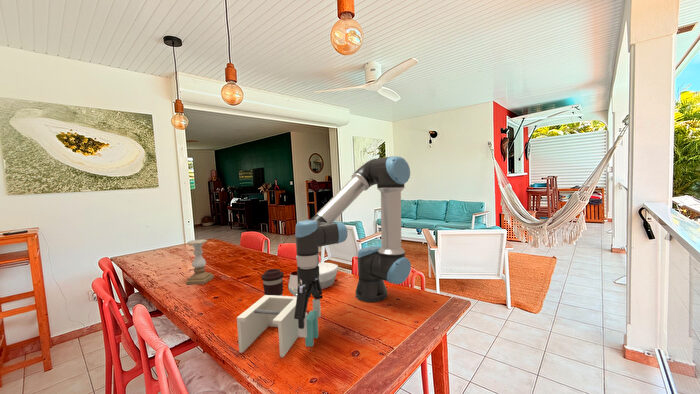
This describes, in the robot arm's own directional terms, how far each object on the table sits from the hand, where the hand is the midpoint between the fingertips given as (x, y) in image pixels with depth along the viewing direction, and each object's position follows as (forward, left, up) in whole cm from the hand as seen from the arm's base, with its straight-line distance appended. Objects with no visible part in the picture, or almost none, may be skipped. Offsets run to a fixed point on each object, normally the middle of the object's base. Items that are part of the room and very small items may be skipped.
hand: (310, 326), depth 96 cm
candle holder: (+88, -48, -6) cm, 100 cm away
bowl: (+14, -51, -6) cm, 53 cm away
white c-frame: (+14, +1, -6) cm, 15 cm away
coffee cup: (+29, -27, -6) cm, 40 cm away
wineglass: (+12, -17, -6) cm, 22 cm away
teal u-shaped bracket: (0, 0, -6) cm, 6 cm away
